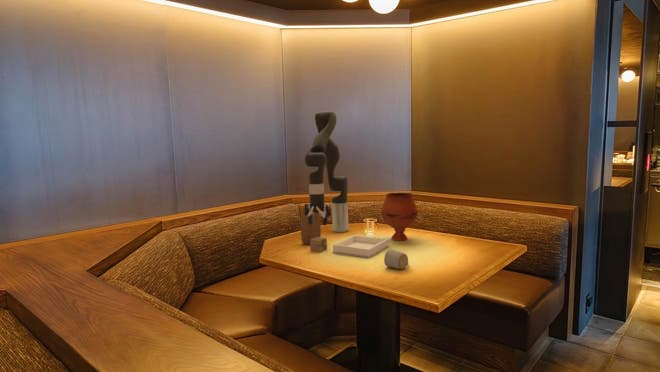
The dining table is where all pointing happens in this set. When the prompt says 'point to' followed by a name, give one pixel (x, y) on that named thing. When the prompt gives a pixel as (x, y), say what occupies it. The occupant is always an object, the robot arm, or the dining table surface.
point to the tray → (360, 246)
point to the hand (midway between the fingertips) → (317, 224)
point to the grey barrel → (395, 259)
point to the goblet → (399, 213)
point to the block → (309, 227)
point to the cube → (318, 244)
